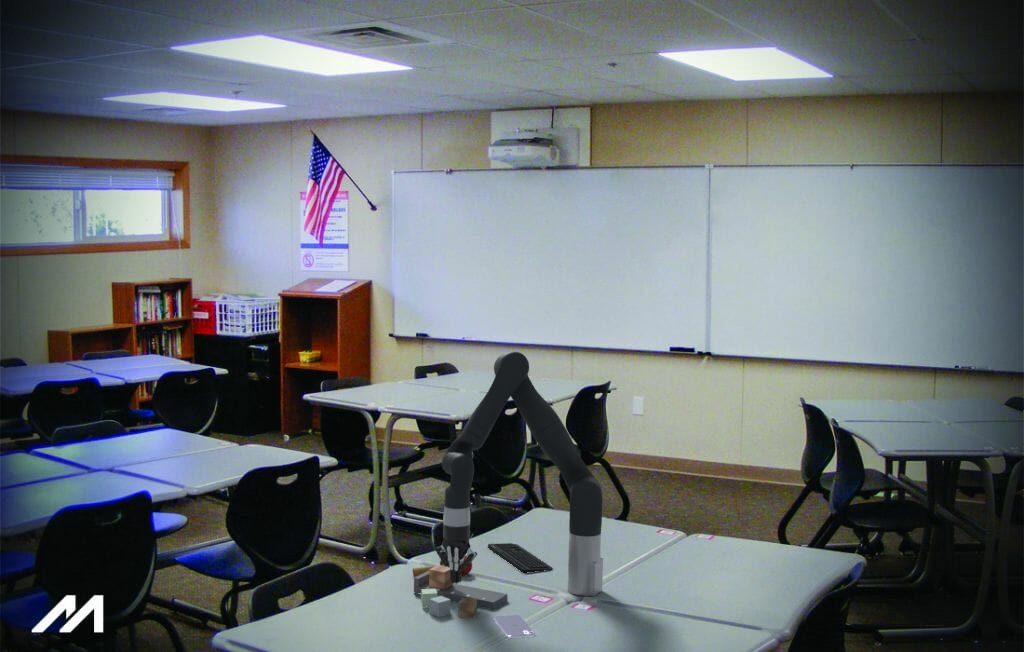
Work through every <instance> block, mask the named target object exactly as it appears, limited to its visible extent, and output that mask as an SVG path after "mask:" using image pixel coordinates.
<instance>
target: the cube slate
mask: <svg viewBox="0 0 1024 652" xmlns="http://www.w3.org/2000/svg"><path fill="white" fill-rule="evenodd" d="M451 603H452V601H451V600H450V599H448V598H445V597H443V596H438V597H435V598H431V599H430V605H429V608H428V609H429V612H430V613H432V614H434V615H433V616H435V615H436V616H435V617H437V616H438V617H437V618H441V617H444V616H443V615H445V616H448V615H451ZM430 613H429V614H430ZM432 614H431V615H432ZM447 614H448V615H447ZM440 616H441V617H440Z"/></svg>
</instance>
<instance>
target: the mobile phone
mask: <svg viewBox="0 0 1024 652" xmlns="http://www.w3.org/2000/svg"><path fill="white" fill-rule="evenodd" d="M493 622H494V623H495V625H497V626H498V627H499V629H500V628H501V629H502V630H501V629H500V630H501V632H502V633H505V634H504V635H505V636H506V638H508V639H510V638H511V639H513V638H515V639H521V638H520V637H525V636H533V635H536V636H537V634H536V632H535V631H534V630H533V629H532V627H531V626H530V625H529V624H528V623H527V622H526V621H525V620H524V618H522V617H521V615H518V614H512V615H502V616H494V617H493ZM525 638H526V637H525Z"/></svg>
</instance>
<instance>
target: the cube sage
mask: <svg viewBox="0 0 1024 652" xmlns="http://www.w3.org/2000/svg"><path fill="white" fill-rule="evenodd" d="M435 597H437V591H436V589H421V595H420V604H421V603H422V605H421V607H422V606H423V607H426V606H427V607H429V605H430V599H431V598H435Z"/></svg>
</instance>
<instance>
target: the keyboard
mask: <svg viewBox="0 0 1024 652" xmlns="http://www.w3.org/2000/svg"><path fill="white" fill-rule="evenodd" d="M488 548H489V549H488ZM487 549H488V550H489V551H491V550H492V551H493V552H492V551H491V552H492V553H494V554H495V553H496V554H497V555H496V554H495V555H496V556H498V555H499V556H500V557H499V556H498V557H499V558H501V559H502V558H503V559H504V561H505V560H506V561H507V562H506V561H505V562H506V563H508V562H509V563H510V564H512V565H513V566H514V567H513V566H512V565H511V566H512V567H513V568H515V567H516V568H517V569H518V570H517V569H516V568H515V569H516V570H517V571H519V570H520V571H521V572H523V573H527V572H535V571H544V570H552V569H553V570H554V568H553V567H552V566H551V565H549V564H548V563H546V562H545V561H543V560H542V559H540V558H539V557H538V556H536V555H535V554H533V553H531V552H530V551H528V550H527V549H525V548H524V547H522V546H521V545H519V544H517V543H511V542H510V543H509V542H507V543H504V542H503V543H488V544H487ZM538 558H539V559H538ZM503 559H502V560H503ZM541 560H542V561H541ZM509 563H508V564H509ZM510 564H509V565H510ZM553 570H552V571H553ZM520 571H519V572H520ZM521 572H520V573H521ZM544 572H545V571H544ZM523 573H522V574H523ZM535 573H536V572H535ZM527 574H528V573H527Z"/></svg>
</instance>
